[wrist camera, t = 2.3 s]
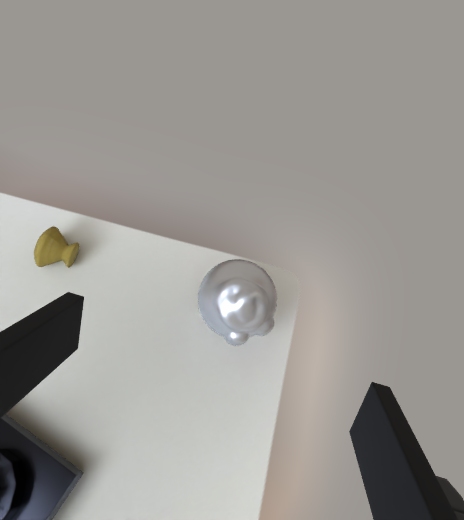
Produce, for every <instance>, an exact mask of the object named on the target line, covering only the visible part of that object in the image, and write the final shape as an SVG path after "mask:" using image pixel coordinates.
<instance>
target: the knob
mask: <svg viewBox="0 0 464 520" xmlns="http://www.w3.org/2000/svg"><path fill="white" fill-rule="evenodd" d="M78 251H79V243H74V244H71V245H68V244H67V242H66V240H65V239H64V237H63V236H62V234H61V233H60V231H59V229H58V228H57V227H51V228H49V229H47V230H46V231H45V232H44V233H43V234H42V235H41V236H40V238H39V239H38V241H37V244H36V246H35V250H34V258H35V262H36V265H37V266H39V267H43V266H45V265H49V264H52V263H55V262H58V261H60V260H63V261H64V263H65V264H66V266H67V267H68V268H70V267H71V266H72V264H73V263H74V261H75V259H76V256H77V254H78Z"/></svg>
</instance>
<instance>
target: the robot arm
mask: <svg viewBox="0 0 464 520" xmlns="http://www.w3.org/2000/svg"><path fill="white" fill-rule="evenodd" d="M83 302H84V297H83V296H80V295H76V294H73V293H70V292H68V293H66V294H64V295H62V296H61V297H59V298H57V299H56V300H54V301H52V302H51V303H49V304H47V305H45V306H44V307H42V308H40V309H39V310H37V311H35V312H34V313H32V314H30V315H29V316H27V317H25V318H23V319H22V320H20V321H18V322H17V323H15V324H13V325H12V326H10V327H8V328H6V329H5V330H3V331H1V332H0V418H1V417H3V416H4V415H5V414H6V413H7V412H8V411H9V410H10V409H11V408H12V407H14V406H15V405H16V404H17V403H18V402H19V401H20V400H21V399H22V398H24V397H25V396H26V395H27V394H28V393H29V392H30V391H31V390H32V389H34V388H35V387H36V386H37V385H38V384H39V383H40V382H41V381H42V380H44V379H45V378H46V377H47V376H48V375H49V374H50V373H51V372H52V371H54V370H55V369H56V368H57V367H58V366H59V365H60V364H61V363H62V362H63V361H65V360H66V359H67V358H68V357H69V356H70V355H71V354H72V353H73V352H75V351H76V350H77V349H78V343H79V334H80V326H81V318H82V310H83ZM350 436H351V439H352V443H353V447H354V450H355V454H356V457H357V461H358V464H359V468H360V472H361V475H362V479H363V483H364V486H365V490H366V494H367V497H368V501H369V504H370V508H371V512H372V515H373V519H374V520H464V501H463V498H462V497H461V495H460V494H459V493H458V492H457V491H456V490H455V488H454V487H453V486H452V485H451V484H450V483H449V481H447V479H445V478H441V477H438V476H435V474H434V472H433V470H432V468H431V466H430V464H429V462H428V460H427V459H426V456H425V454H424V453H423V451H422V449H421V447H420V445H419V443H418V441H417V439H416V437H415V435H414V433H413V432H412V429H411V427H410V425H409V424H408V422H407V420H406V418H405V416H404V414H403V412H402V410H401V408H400V406H399V404H398V402H397V401H396V398H395V397H394V395H393V393H392V391H391V389H390V387H388V386H384V385H381V384H377V383H374V382H372V383H371V385H370V387H369V390H368V392H367V394H366V396H365V398H364V401H363V403H362V405H361V407H360V409H359V412H358V414H357V416H356V418H355V420H354V423H353V425H352V427H351V429H350Z"/></svg>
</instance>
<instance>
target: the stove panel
mask: <svg viewBox="0 0 464 520" xmlns="http://www.w3.org/2000/svg"><path fill="white" fill-rule="evenodd" d="M82 475H83V472H82V471H81V470H80V469H78V468H77V467H76V466H74V465H73V464H72V463H70V462H69V461H68V460H66V459H65V458H64V457H62V456H61V455H60V454H58V453H57V452H56V451H54V450H53V449H52V448H50V447H49V446H48V445H46V444H45V443H44V442H42V441H41V440H40V439H38V438H37V437H36V436H34V435H33V434H32V433H30V432H29V431H28V430H26V429H25V428H24V427H22V426H21V425H20V424H18V423H17V422H16V421H14V420H13V419H12V418H11V417H9V416H8V415H7V414H5V415H4V416H3V417H1V418H0V520H52V519H53V518H54V516H55V515H56V513H57V512H58V510H59V509H60V507H61V506H62V504H63V503H64V501H65V500H66V498H67V497H68V495H69V494H70V492H71V491H72V490H73V488H74V487H75V485H76V484H77V482H78V481H79V479H80V478H81V476H82Z"/></svg>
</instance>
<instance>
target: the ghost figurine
mask: <svg viewBox="0 0 464 520" xmlns="http://www.w3.org/2000/svg"><path fill="white" fill-rule="evenodd" d="M198 306H199V311H200V313H201V316H202V318H203V320H204V321H205V323H206V324H207V325H208V326H209V327H210V328H211V329H212V330H213V331H214V332H216V333H217V334H219V335H221V336H223V337H224V338H225V340H226V341H227V342H228V343H229V344H230V345H233V346H240V345H242V344H244V343H245V342H246V341H247V340H248V338H249V337H251V336H254V335H258V336H264V335H266V334H268V333H269V332H270V331H271V330H272V329H273V327H274V318H273V316H274V313H275V310H276V306H277V293H276V289H275V286H274V283H273V281H272V279H271V278H270V276H269V275H268V274H267V272H266V271H265V270H264V269H262V268H261V267H260V266H258V265H256V264H255V263H252V262H250V261H246V260H229V261H225V262H222V263H220V264H218V265H217V266H215V267H214V268H212V269H211V270H210V271H209V272H208V273H207V275H206V276H205V277H204V279H203V281H202V283H201V285H200V288H199V292H198Z"/></svg>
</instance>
